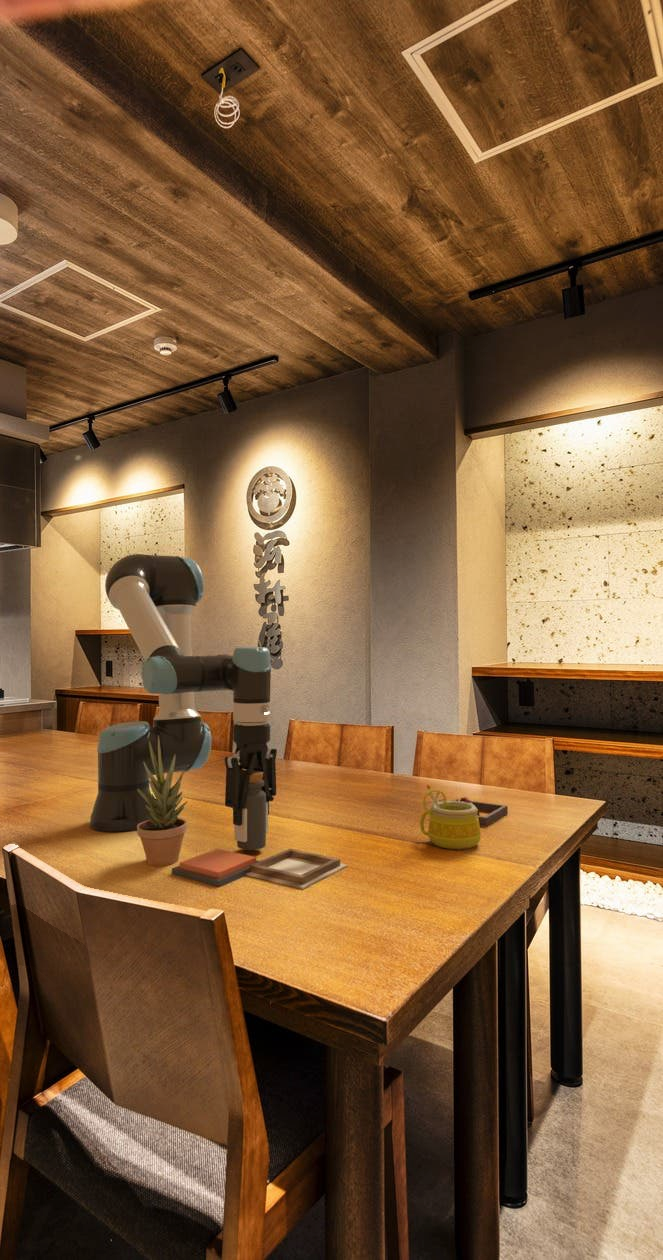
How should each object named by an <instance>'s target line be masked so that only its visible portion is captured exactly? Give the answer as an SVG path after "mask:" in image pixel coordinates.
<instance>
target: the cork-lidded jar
mask: <svg viewBox="0 0 663 1260" xmlns="http://www.w3.org/2000/svg"><path fill="white" fill-rule="evenodd" d="M262 777H263V772H262V771H257V770H253V773H252V775H250V779H249V784H248V790H247V795H246V800H245V805H244V808H247V842H241V841H237V840H236V846H237V848H238V849H240V850H245V851H253V850H254V851H255V850H260V849H263V848H265V847H266V844H267V842H266V841H267V834H266V793H265V792H264V791H262V790H261V787H263V786H264V780H262ZM238 802H239V801H238Z"/></svg>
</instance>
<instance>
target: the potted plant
mask: <svg viewBox="0 0 663 1260" xmlns="http://www.w3.org/2000/svg"><path fill="white" fill-rule="evenodd" d="M149 748H150V753H151V758H152V763H153V767H154V770H155V774H156V775H152V773H151V772H150V770H149V769H148V767H147V765H146V764H145V762H144V761H143V763H144V766H145V769H146V772H147V774H148V776H149V787H150V788H151V789H150V790H151V791H152V793H151V795H152V797H151V796H149V795H147V794H146V793H145V792H143V793H144V794H143V793H142V792H141V791H140V790H139V789H138V792H139V793H140V795H141V796H142V797H143V798H144V800H145V801H146V802H147V803H148V804H149V805H150V808H149V807H148V806H147V805H146V808H147V809H148V810H149V811H150V814H151V816H152V818H153V819H152V818H151V817H149V816H148V818H149V820H148V821H145V822H142V823H140V824H138V825H137V829H136V832H137V833H136V834H137V836H138V837H140V841H141V844H142V849H143V851H144V854H145V858H146V862H147V864H148V865H150V866H152V867H153V866H154V867H162V866H168V865H173V864H175V863H177V862H178V861H179V857H180V853H181V849H182V844H183V840H184V838H185V837H184V836H185V833H186V832H187V831H188V822H187V820H186V819H184V818H182V817H181V818H180V817H178V816H179V815H181V812H182V811H183V810H184V809H185V807H186V804H187V803H188V801H185V802H184V803H183V804H181V805H180V806H179V807H178V805H179V804H180V803H181V802H182V801H183V797H182V794H183V791H181V792H180V793H179V791H180V789H181V785H182V784H181V782H182V779H183V777H184V773H185V772H184V770H183V772H182V771H181V774H180V775H179V778H178V779H177V781H176V783H175V784H174V785H172V781H173V774H174V772H173V771H174V765H175V755H174V758H173V759H172V762H171V766H170V768H169V771H168V772H167V773H166V777H165V774H164V772H163V764H162V759H161V749H160V740H159V735H158V763H159V768H158V764H157V761H156V758H155V755H154V752H153V749H152V746H151V743H150V741H149ZM155 777H156V778H155ZM149 800H150V801H151V802H152V803H153V804H152V803H151V802H150V801H149ZM177 807H178V808H177Z"/></svg>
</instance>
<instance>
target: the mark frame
mask: <svg viewBox="0 0 663 1260" xmlns="http://www.w3.org/2000/svg"><path fill="white" fill-rule="evenodd" d="M258 861H259V862H257V863H254V864H252V865H250V872H249V873H246V875H245V876H248V877H253V878H257V879H261V880H265V881H268V882H272V883H277V884H281V885H284V886H289V887H292V888H296V889H300V890H305V889H307V888H309V887H311V886H313V885H315V884H317V883H319V882H321V881H322V880H324V879H326V878H328V877H330V876H332V875H333V874H336V873H339V872H341V871H342V870H344V869H345V868H347V867H349V866H348V864H346V863H345V864H344V863H341V858H337V857H332V856H327V855H322V854H318V853H317V854H316V853H313V852H309V851H302V850H298V849H295V848H288V849H285V850H283V851H281V852H278V853H277V854H273V855H271V856H268V857H267V858H264V859H261V860H258Z"/></svg>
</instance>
